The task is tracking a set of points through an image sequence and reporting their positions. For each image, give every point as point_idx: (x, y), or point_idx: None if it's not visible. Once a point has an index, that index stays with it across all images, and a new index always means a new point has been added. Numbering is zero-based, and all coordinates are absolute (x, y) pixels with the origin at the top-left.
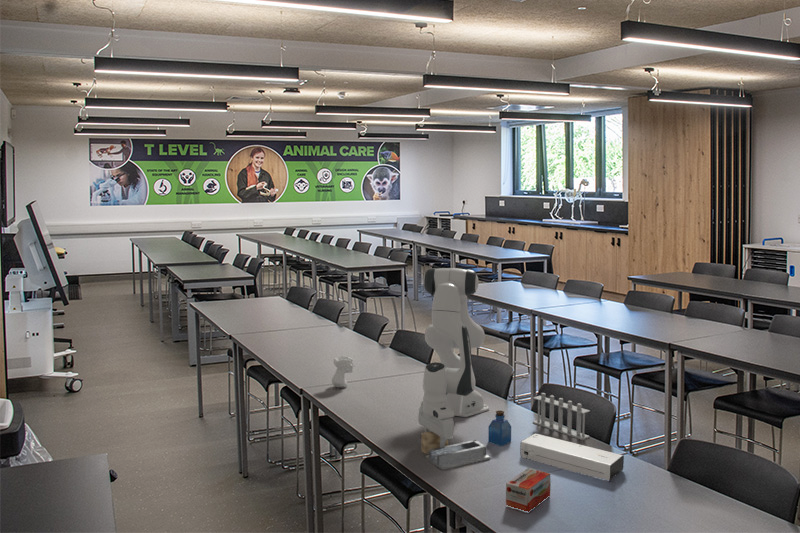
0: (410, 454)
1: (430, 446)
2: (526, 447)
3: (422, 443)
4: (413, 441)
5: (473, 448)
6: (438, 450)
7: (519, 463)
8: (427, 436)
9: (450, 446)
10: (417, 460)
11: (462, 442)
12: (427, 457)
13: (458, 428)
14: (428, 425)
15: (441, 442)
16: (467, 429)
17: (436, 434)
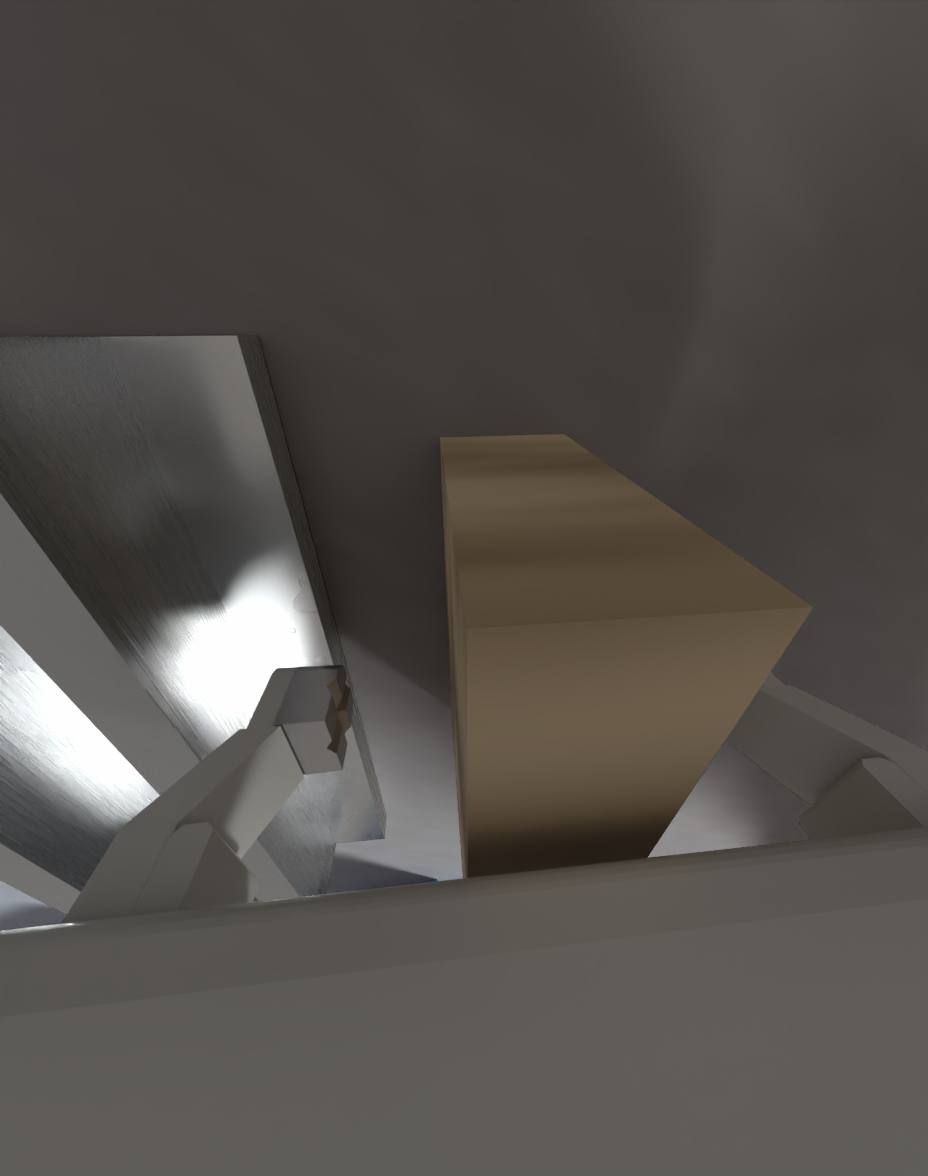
0: (561, 101)
1: (448, 569)
2: None
3: (576, 476)
4: (884, 499)
5: (65, 902)
6: (1, 585)
7: (50, 907)
8: (463, 669)
9: (159, 780)
10: (155, 41)
11: (281, 874)
12: (155, 336)
13: (710, 835)
14: (886, 1086)
15: (215, 759)
16: (658, 856)
17: (260, 913)
